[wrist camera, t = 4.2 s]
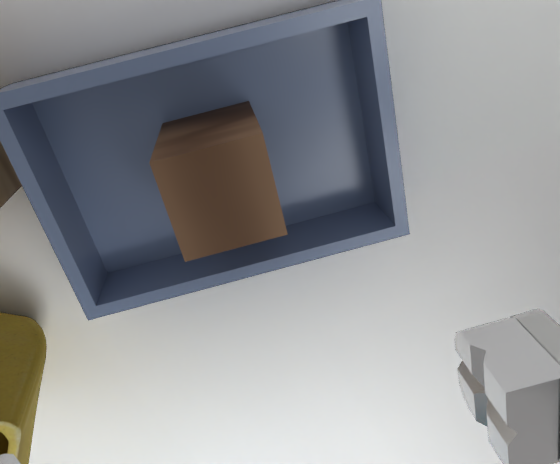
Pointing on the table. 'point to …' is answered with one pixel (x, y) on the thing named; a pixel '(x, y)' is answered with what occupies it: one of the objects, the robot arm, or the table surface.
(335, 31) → the blue tray
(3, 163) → the wooden serving tray
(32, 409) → the flower pot
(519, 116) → the table surface
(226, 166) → the walnut block
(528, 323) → the robot arm
